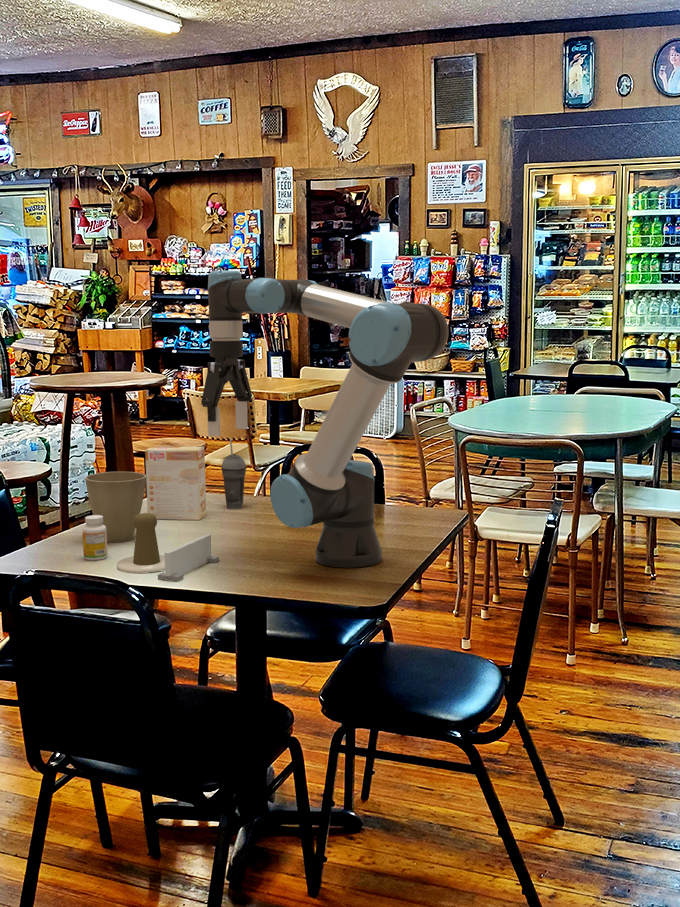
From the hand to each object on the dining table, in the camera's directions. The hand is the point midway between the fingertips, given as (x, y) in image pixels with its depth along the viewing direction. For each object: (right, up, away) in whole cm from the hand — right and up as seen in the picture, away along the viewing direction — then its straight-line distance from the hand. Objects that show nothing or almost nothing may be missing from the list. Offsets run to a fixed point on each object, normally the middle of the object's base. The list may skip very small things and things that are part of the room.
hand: (228, 432), depth 222 cm
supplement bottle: (-31, -29, +1) cm, 43 cm away
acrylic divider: (-7, -31, -10) cm, 33 cm away
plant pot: (-30, -26, +20) cm, 45 cm away
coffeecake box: (-19, -23, +45) cm, 54 cm away
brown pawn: (-18, -29, -6) cm, 35 cm away
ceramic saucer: (-18, -30, -6) cm, 35 cm away
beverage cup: (-5, -21, +57) cm, 61 cm away
